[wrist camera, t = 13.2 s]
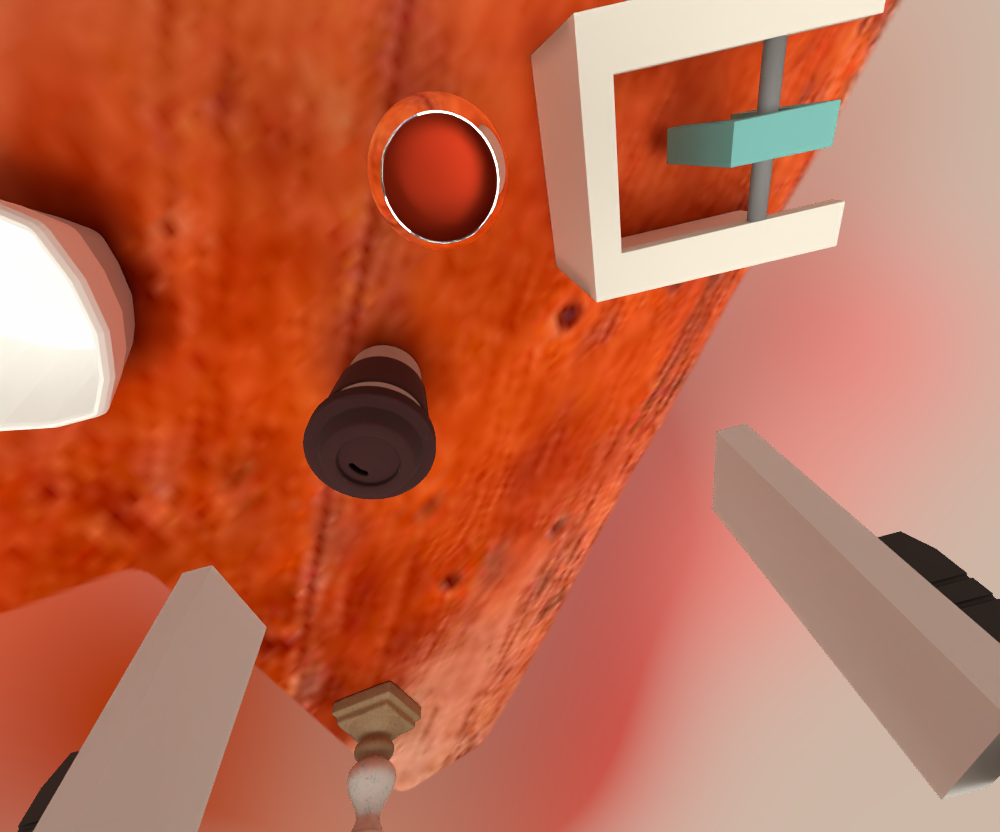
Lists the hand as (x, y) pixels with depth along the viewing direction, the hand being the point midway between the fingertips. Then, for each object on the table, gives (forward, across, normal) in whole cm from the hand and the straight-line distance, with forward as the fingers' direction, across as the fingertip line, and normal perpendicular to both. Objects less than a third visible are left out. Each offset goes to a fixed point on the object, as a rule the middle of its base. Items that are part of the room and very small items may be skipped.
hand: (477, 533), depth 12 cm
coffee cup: (+34, -9, -10) cm, 37 cm away
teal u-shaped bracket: (+30, +23, +5) cm, 38 cm away
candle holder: (+34, -32, -68) cm, 82 cm away
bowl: (+34, -32, +6) cm, 48 cm away
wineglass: (+34, +2, +7) cm, 35 cm away
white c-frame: (+34, +20, +4) cm, 39 cm away
